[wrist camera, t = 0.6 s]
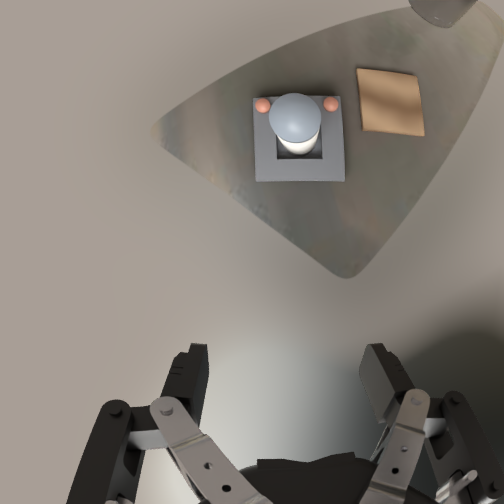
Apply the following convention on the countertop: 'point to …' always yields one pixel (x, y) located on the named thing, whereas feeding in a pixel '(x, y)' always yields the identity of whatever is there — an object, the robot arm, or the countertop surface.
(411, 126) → the pad
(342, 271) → the countertop surface
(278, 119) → the ball
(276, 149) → the block
